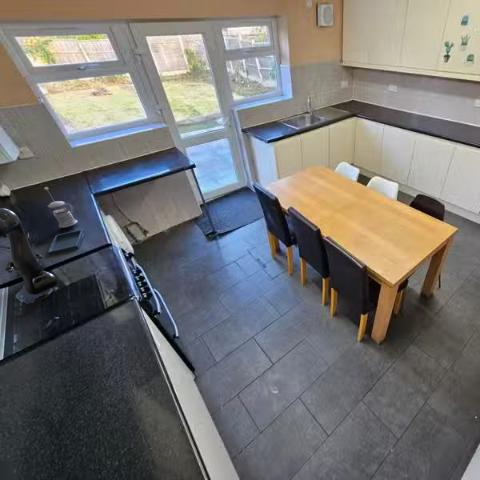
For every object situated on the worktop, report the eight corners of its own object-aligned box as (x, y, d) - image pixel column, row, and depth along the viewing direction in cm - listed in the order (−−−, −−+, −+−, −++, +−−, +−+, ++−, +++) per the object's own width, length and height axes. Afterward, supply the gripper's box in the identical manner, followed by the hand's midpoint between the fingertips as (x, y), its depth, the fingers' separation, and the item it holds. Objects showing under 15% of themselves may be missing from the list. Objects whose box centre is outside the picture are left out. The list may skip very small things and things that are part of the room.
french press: (54, 226, 172) (30, 189, 158) (73, 217, 181) (52, 182, 167) (65, 228, 169) (41, 191, 155) (84, 219, 178) (63, 184, 164)
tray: (79, 248, 155) (76, 245, 153) (50, 256, 150) (47, 252, 149) (84, 232, 167) (82, 229, 166) (58, 238, 163) (55, 235, 161)
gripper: (42, 255, 131) (30, 242, 139) (4, 272, 122) (-6, 258, 130) (52, 266, 136) (40, 253, 144) (16, 283, 127) (5, 269, 135)
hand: (18, 256), depth 137 cm, fingers closed on brush, 3 cm apart
